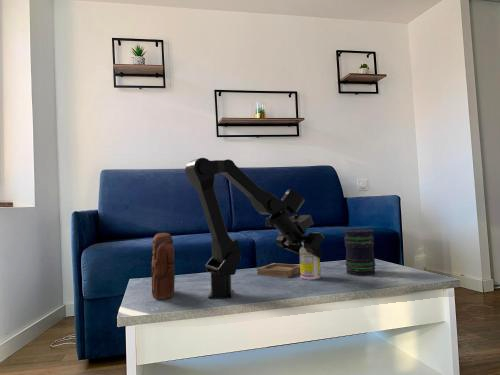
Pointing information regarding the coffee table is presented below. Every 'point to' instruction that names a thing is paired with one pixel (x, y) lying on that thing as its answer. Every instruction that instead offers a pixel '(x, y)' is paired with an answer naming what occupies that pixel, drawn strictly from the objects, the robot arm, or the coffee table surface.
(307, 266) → the supplement bottle
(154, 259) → the wooden figurine
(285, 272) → the walnut tray
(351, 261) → the storage jar
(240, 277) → the coffee table surface
